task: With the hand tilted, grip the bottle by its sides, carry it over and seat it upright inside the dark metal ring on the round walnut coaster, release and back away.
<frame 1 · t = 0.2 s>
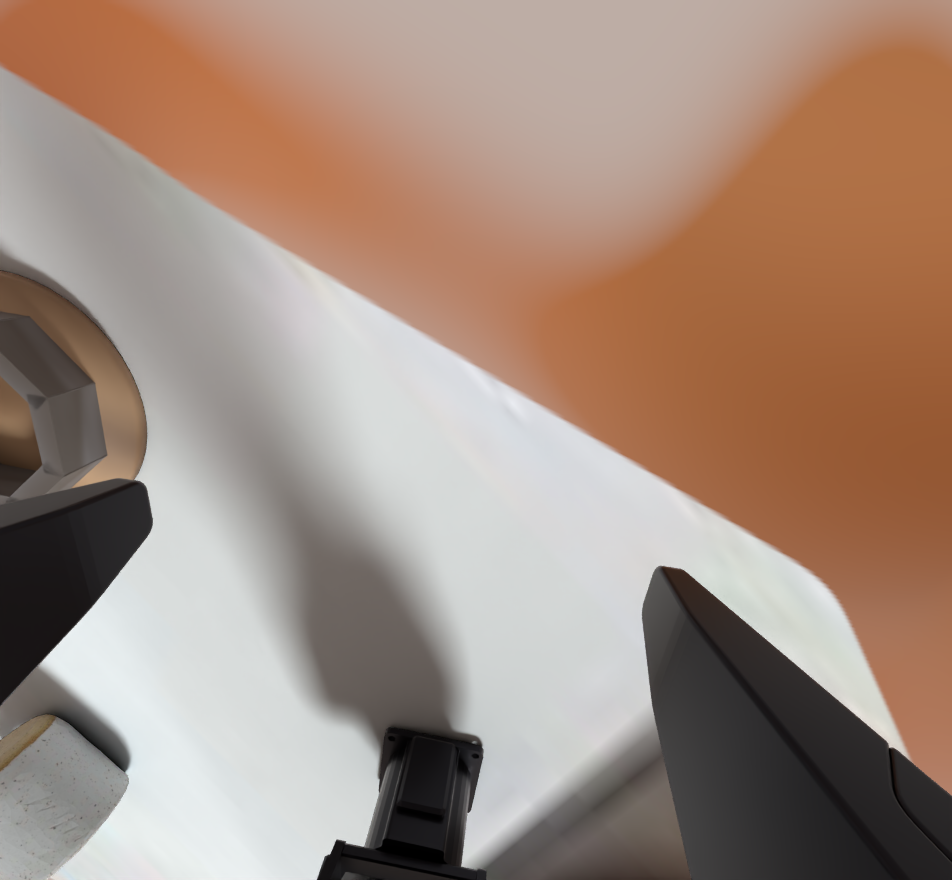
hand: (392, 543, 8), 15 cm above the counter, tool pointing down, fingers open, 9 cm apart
ring coaster: (28, 399, 25), on the counter
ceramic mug: (76, 748, 37), on the counter
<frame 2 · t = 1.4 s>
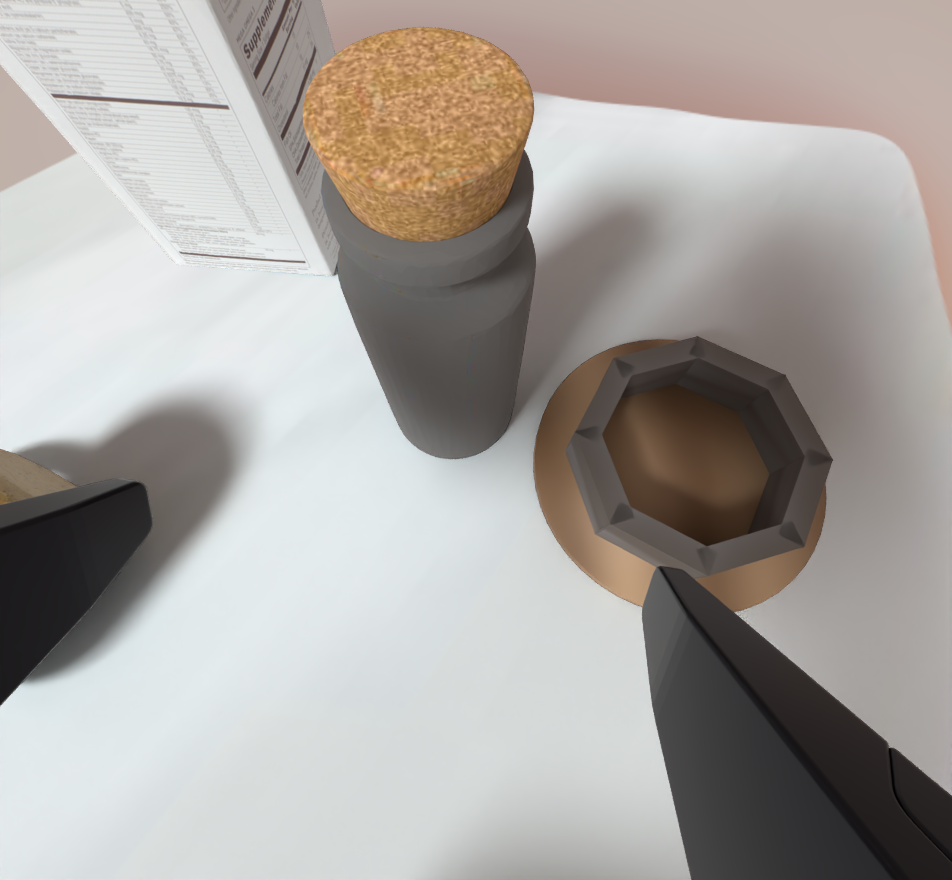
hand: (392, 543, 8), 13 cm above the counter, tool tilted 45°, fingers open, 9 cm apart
ring coaster: (671, 468, 23), on the counter
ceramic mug: (28, 572, 21), on the counter
supplement box: (274, 212, 28), on the counter
bottle: (454, 406, 24), on the counter
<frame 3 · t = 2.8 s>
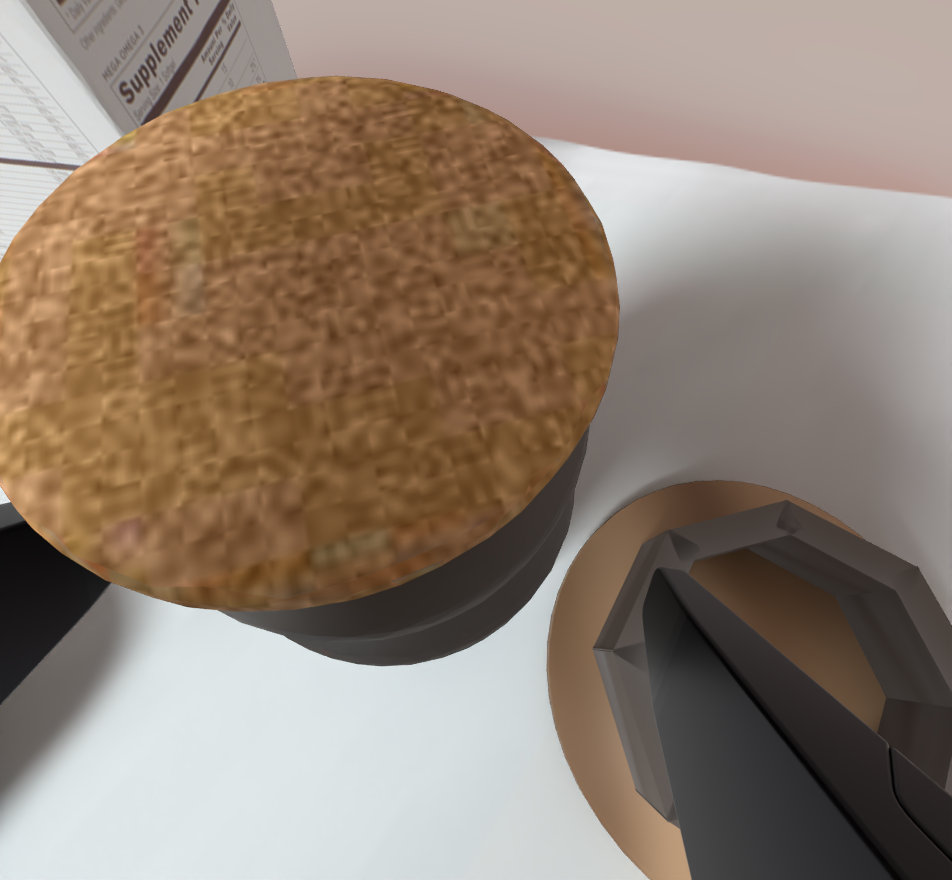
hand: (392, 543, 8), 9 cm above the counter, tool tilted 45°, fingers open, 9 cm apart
ring coaster: (741, 673, 16), on the counter
supplement box: (226, 280, 22), on the counter
bottle: (440, 561, 18), on the counter
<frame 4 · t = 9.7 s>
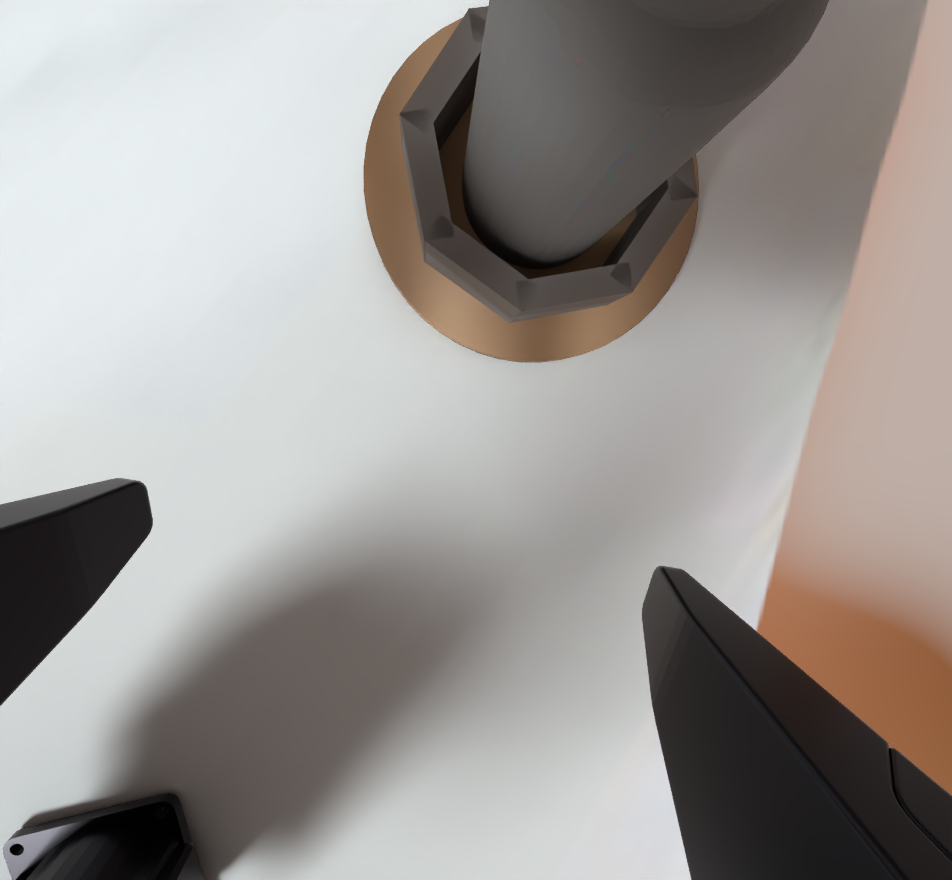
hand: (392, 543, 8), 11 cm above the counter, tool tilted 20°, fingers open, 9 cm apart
ring coaster: (532, 197, 19), on the counter
bottle: (535, 194, 18), point 1 cm above the counter, touching ring coaster
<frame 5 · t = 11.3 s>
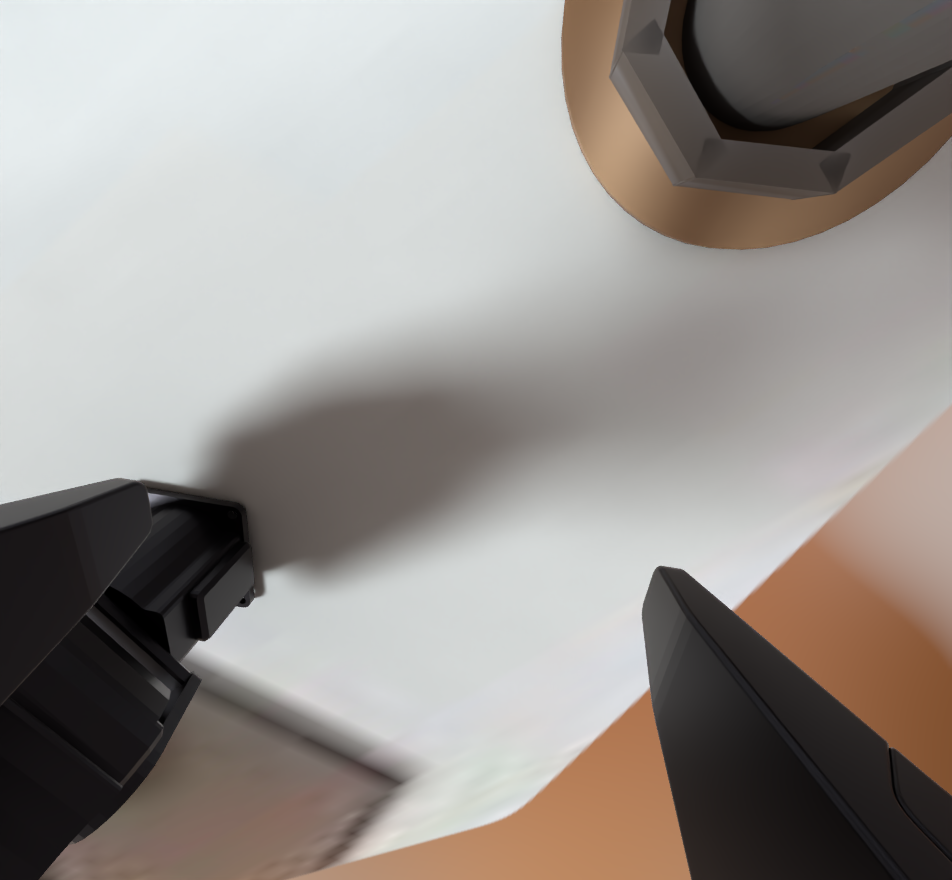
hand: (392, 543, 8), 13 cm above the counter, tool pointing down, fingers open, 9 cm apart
ring coaster: (772, 24, 15), on the counter
bottle: (779, 21, 14), point 1 cm above the counter, touching ring coaster
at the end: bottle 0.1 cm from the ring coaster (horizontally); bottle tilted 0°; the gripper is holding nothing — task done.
